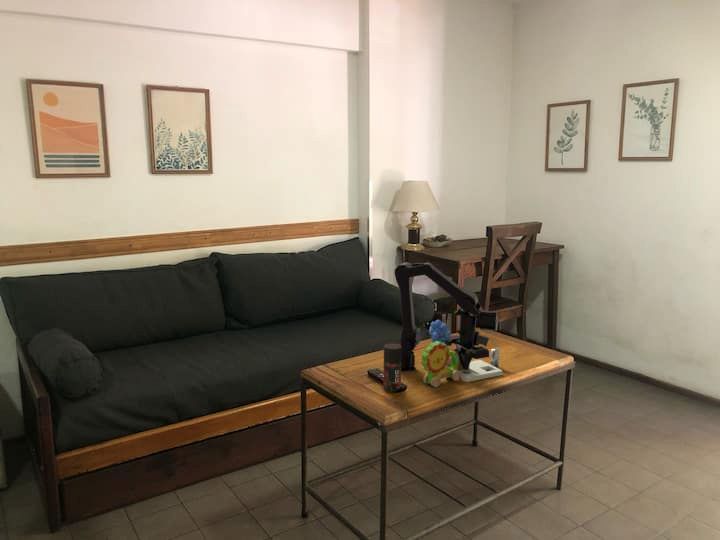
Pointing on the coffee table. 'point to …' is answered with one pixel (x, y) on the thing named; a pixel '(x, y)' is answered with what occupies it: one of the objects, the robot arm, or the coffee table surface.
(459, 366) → the brown wooden block
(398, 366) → the deodorant
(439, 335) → the grapes
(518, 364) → the coffee table surface
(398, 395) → the coffee table surface
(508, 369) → the coffee table surface
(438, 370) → the toy lion
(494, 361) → the pin
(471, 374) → the board
